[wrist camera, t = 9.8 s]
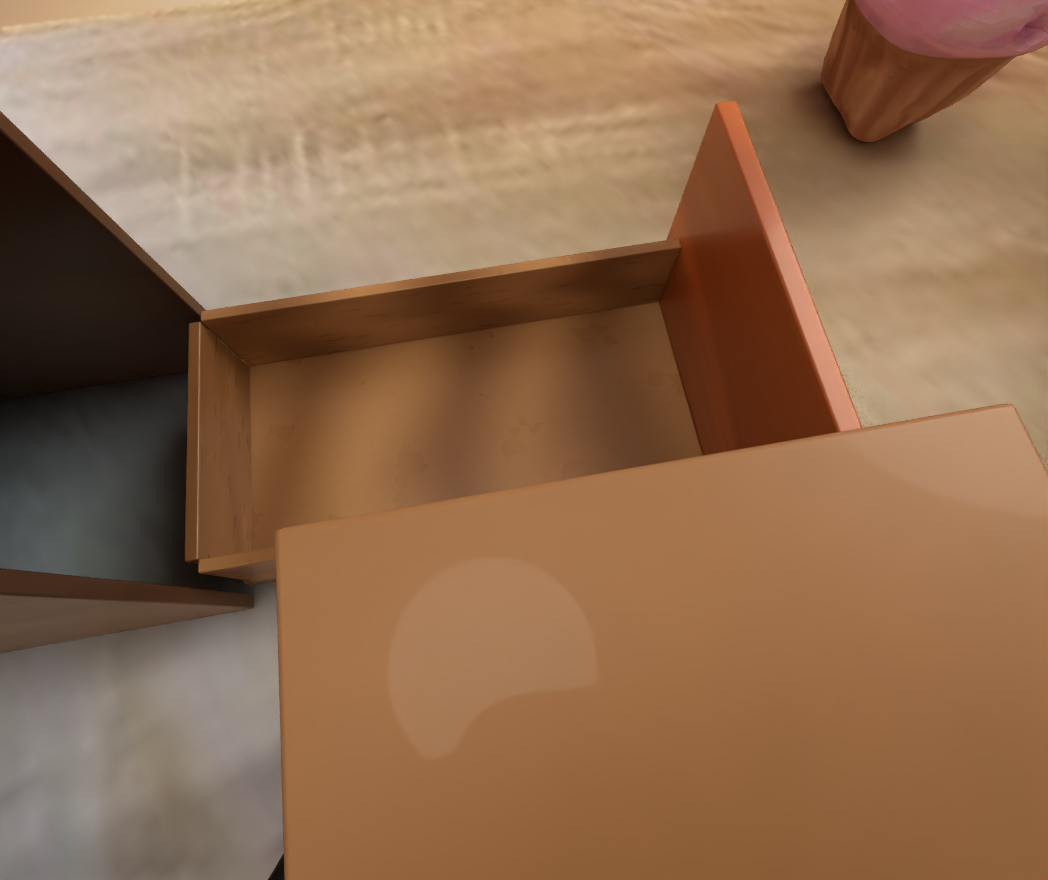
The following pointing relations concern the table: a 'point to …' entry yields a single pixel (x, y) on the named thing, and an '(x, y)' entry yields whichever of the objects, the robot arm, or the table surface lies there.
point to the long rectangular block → (682, 670)
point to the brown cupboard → (82, 370)
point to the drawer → (509, 373)
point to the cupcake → (921, 56)
